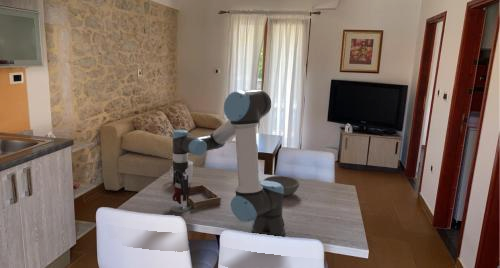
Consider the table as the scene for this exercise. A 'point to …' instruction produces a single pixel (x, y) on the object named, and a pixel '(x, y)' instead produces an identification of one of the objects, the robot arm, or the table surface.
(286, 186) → the bowl
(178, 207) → the coaster
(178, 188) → the mug
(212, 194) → the caddy
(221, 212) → the table surface
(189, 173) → the mug
